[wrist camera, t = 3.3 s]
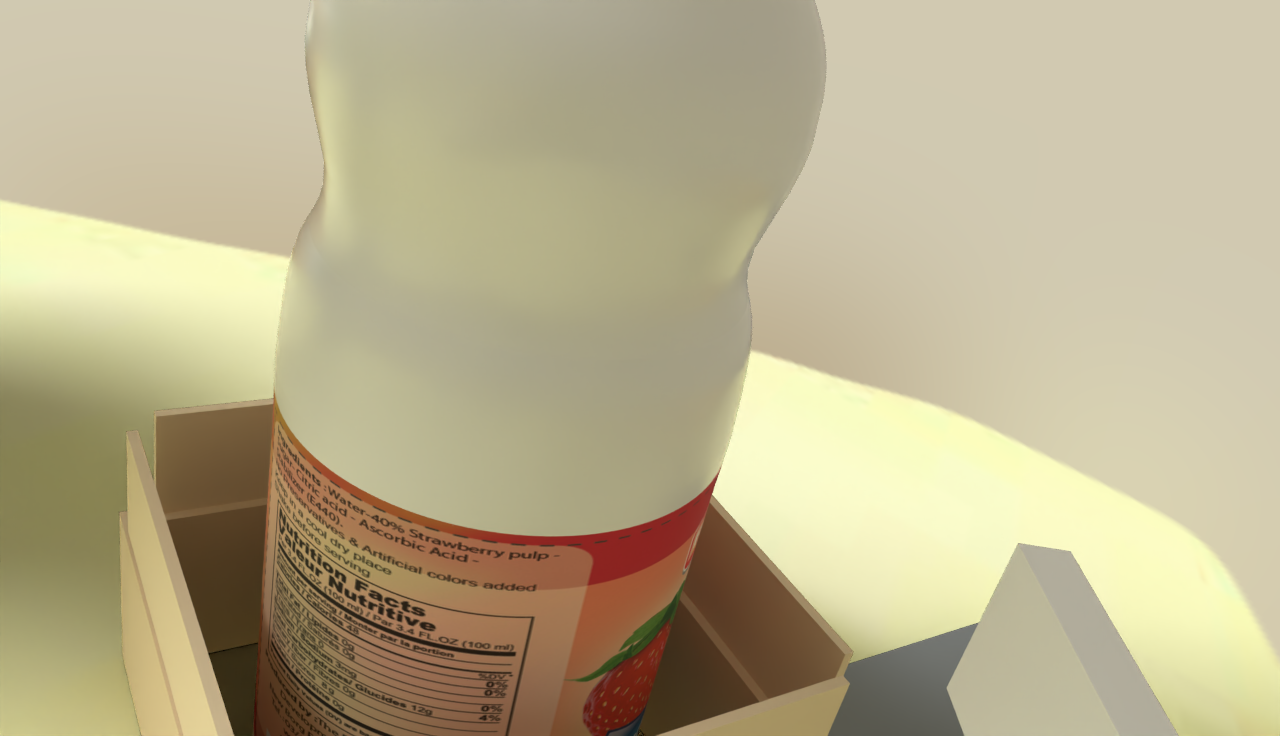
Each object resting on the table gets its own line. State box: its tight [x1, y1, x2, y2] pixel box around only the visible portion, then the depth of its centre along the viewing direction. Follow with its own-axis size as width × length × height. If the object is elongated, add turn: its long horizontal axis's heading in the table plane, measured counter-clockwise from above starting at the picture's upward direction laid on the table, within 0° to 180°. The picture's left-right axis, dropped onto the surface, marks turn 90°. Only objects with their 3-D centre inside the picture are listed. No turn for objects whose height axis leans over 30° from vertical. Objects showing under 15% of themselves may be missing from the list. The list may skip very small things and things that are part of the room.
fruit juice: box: [253, 0, 826, 736], centre depth 22 cm, size 9×9×28 cm
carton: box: [119, 398, 853, 736], centre depth 27 cm, size 13×13×8 cm
